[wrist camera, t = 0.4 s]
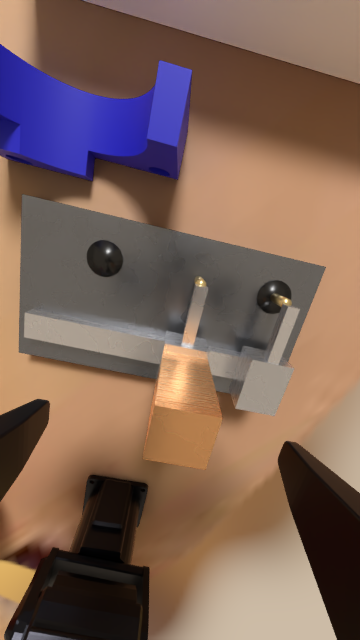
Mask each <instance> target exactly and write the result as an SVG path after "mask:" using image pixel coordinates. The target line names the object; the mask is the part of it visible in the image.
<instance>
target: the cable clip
mask: <svg viewBox="0 0 360 640" xmlns="http://www.w3.org/2000/svg"><path fill="white" fill-rule="evenodd" d="M191 80H192V70H191V69H187V68H184V67H181V66H177V65H174V64H171V63H168V62H164V61H161V60H159V66H158V72H157V78H156V84H155V86H154V87H153V88H152V89H151V90H150V91H149V92H148V93H146V94H144V95H142V96H140V97H137V98H132V99H113V98H107V97H102V96H97V95H94V94H90V93H87V92H84V91H82V90H79V89H76V88H74V87H71V86H69V85H67V84H65V83H63V82H60V81H58V80H56V79H54V78H52V77H51V76H49V75H47V74H45V73H43V72H42V71H40V70H38V69H36V68H35V67H33V66H31V65H30V64H28V63H27V62H25V61H24V60H22V59H21V58H19V57H18V56H16V55H15V54H13V53H12V52H11V51H9V50H8V49H6V48H5V47H4V46H2V45H1V44H0V155H1V156H2V157H4V158H6V159H9V160H13V161H17V162H21V163H24V164H28V165H32V166H36V167H40V168H44V169H48V170H51V171H55V172H59V173H63V174H67V175H71V176H75V177H78V178H82V179H86V180H90V181H93V172H94V163H95V158H98V159H102V160H105V161H109V162H113V163H117V164H120V165H124V166H128V167H132V168H135V169H139V170H143V171H147V172H150V173H154V174H158V175H162V176H165V177H169V178H173V179H177V180H178V177H179V172H180V167H181V162H182V157H183V152H184V147H185V142H186V138H187V133H188V121H189V107H190V94H191Z"/></svg>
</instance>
